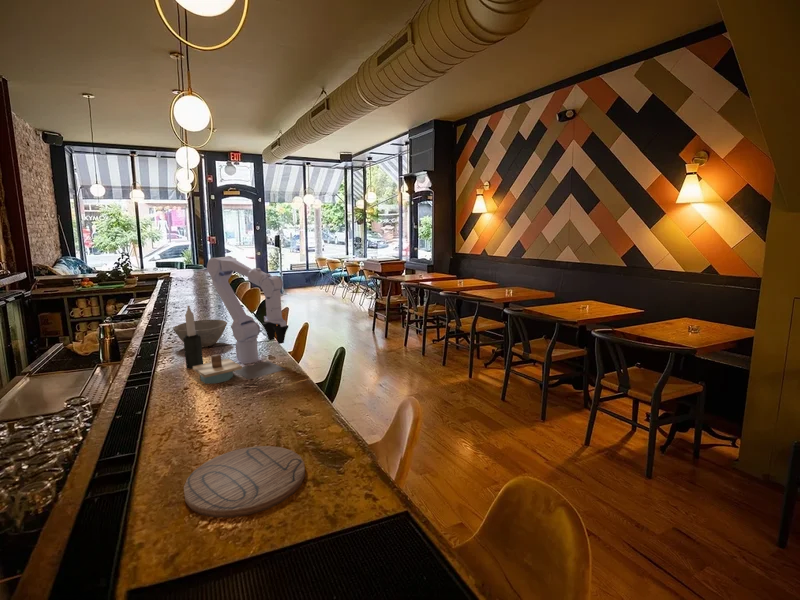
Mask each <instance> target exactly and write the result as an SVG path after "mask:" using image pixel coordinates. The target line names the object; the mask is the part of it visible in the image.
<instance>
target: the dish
mask: <svg viewBox="0 0 800 600" xmlns="http://www.w3.org/2000/svg"><path fill="white" fill-rule="evenodd" d="M233 372H234V371H231V372H227V373H223V374H219V375H215V376H210V377H206V378H204V377H203V376H202V375H200V374H199V376H200V382H202V383H204V384H218V383H219V384H220V383H224V382H227V381H229V380H230V379H232V378H233V377H234V373H233Z"/></svg>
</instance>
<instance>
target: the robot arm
mask: <svg viewBox="0 0 800 600" xmlns="http://www.w3.org/2000/svg"><path fill="white" fill-rule="evenodd" d="M206 270H207V272H208V274H209V276H210V278H211V282H212V284H213V286H214V288H215V291H216V292H217V294H218V295H219V297H220V299H221V301H222V302H223V304H224V306H225V309H226V310H227V312H228V314H229V315H230V318H231V319H232V321H233V322H232V324H231V325H230V328H231V331H232V335H233V337H234V339H235V340H236V343H235V353H236V358H234V360H236V362H240V363H241V364H243V365H246V364H251V363H254V362H259V361H262V360H263V359H262V358H260V357H259V351H258V338H259V337H258V336H259V335H260V333H261V327H260V324H259V323H257V322H256V321H255V319H254V317H253V316H250V315H249V314H247V313H246V311H245V310H244V307H243V306H242V304H241V302H240V300H239V299H238V297H237V295H236V294H235V293H236V292H235V291H234V290H233V288H232V286H231V285H230V283H229V280H230V278H231V277H232V275H233V273H234V272H235V273H236V274H237V273H238V274H240V275H242V276H245V277H247V280H248V281H249V282H250V283H252V284H254V285H256V286H258V287H260V289H261V290H262V292H263V296H264V299H265V310H266V311H265V312H266V313H265V314H266V315H264V316H263V321H264V322H262V323H261V325H262V327H263V328H264V330H265V332H266V335H267V339H268V341H273V340H276V342H277V344H278V345H281V344H284V343H285V338H286V333H287V330H288V329H289V325H288V324H287V321H286V320H285V319H284V318H283V310H282V299H281V297H282V296H281V290H282V289H283V286H284V285H283V284H284V282H283V280H282V278H281V277H280V276H278V275H273V276H272V274H271V273H266V272H264V271H263V270H262V269H261V268H260V267H256V268H250V267H248V266H247V265H246V264H243V263H242V262H240V261H239V260H237V258H235V257H233V256H230V255H227V256H221V257H219V256H218V257H211V258H209V259H208V261H207V264H206Z"/></svg>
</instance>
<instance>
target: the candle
mask: <svg viewBox="0 0 800 600" xmlns="http://www.w3.org/2000/svg"><path fill="white" fill-rule="evenodd" d="M186 307H187V310H186V313H184V314H185V315H184V316H185V317H184V318H185V323H186V327H187V335H185V337H184V338H183V341H184V342H183V341H182V342H183V347H184V348H183V350H184V357H185V367H186V370H190V369H191V370H193V367H192V366H197V365H201V364H204V358H203V357H204V356H203V351H202V350H203V347H202V346H201V337H200V335H198V334H196V332H195V323H194V321H195V316H194V312H192V310H191V308H190V305H187V306H186Z"/></svg>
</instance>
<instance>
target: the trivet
mask: <svg viewBox="0 0 800 600" xmlns="http://www.w3.org/2000/svg"><path fill="white" fill-rule="evenodd" d="M305 473H306V471H305V461H304V460H303V458H302V456H301V455H299V454H298V453H297V452H295V451H294V450H291V449H288V448H285V447H280V446H272V445H262V446H261V445H258V446H249V447H243V448H239V449H235V450H232V451H228V452H225V453H223V454H219V455H217V456H215V457H213V458H211V459H209V460H208V461H206V462H204V463H203V464H201V465H200V466H198V467H197V468H195V469H194V470H193V471H192V473H190V475H188V477H187V478H186V481H185V484H184V486H183V492H184V493H183V494H184V500H185V503H186V505H187V506H188V507H189V509H190V510H192V511H194V512H195V513H198V514H200V515H201V516H207V517H212V518H236V517H237V518H238V517H243V516H244V517H245V516H249V515H252V514H255V513H259V512H263V511H265V510H269V509H270V508H272V507H274V506H276V505H278V504H281V503H282V502H284V501H285V500H287V499H288V498H289V497H291V496H292V495H294V494H295V492H297V491H298V489H299V488H300V487H301V486H302V484H303V482H304V479H305V477H306V475H305Z"/></svg>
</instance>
